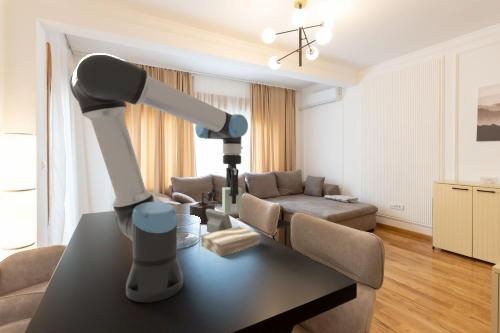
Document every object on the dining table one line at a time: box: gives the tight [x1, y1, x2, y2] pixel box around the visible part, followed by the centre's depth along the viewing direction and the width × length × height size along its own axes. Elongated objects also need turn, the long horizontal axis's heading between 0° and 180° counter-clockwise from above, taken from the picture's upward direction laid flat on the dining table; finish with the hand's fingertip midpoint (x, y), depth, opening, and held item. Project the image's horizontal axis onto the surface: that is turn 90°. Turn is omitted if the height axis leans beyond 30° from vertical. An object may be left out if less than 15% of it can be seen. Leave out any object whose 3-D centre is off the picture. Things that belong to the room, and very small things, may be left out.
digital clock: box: [206, 209, 233, 233], centre depth 123 cm, size 16×9×11 cm, turn 37°
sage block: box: [221, 186, 243, 215], centre depth 104 cm, size 7×7×10 cm
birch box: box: [200, 226, 261, 257], centre depth 105 cm, size 14×20×5 cm
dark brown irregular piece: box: [189, 191, 216, 225], centre depth 140 cm, size 16×11×18 cm
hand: (231, 209), depth 104 cm, fingers closed on sage block, 7 cm apart
